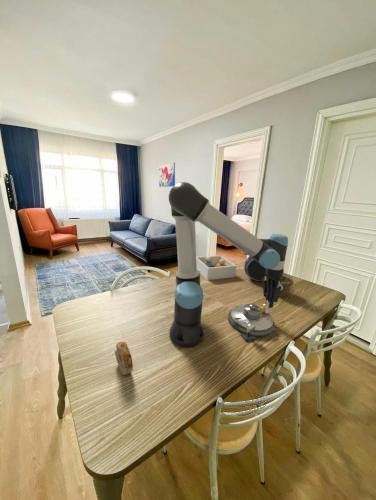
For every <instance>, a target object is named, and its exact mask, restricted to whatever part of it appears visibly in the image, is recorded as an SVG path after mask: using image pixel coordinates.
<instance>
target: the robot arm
mask: <svg viewBox="0 0 376 500" xmlns="http://www.w3.org/2000/svg"><path fill="white" fill-rule="evenodd" d="M168 202H169V205H170V209H171V213H170V214H171V217H172V218H173V219H174V220H175V221H174V222H175V233H176V234H175V235H176V237H175V238H176V250H177V251H176V252H177V268H178V270H176V271H175V290H174V308H173V309H174V312H173V313H174V314H173V321H172V323H171V325H170V328H169V334H168V335H169V339H170V341H171V342H172V343H173V344H174V345H176V346H178V347H179V348H180V347H181V348H194V347H197V346H199V345H200V344H202V343H203V340H204V337H205V336H204V335H205V331H204V328H203V324H202V312H203V311H202V310H203V301H204V290H203V288H202V286H201V273H200V272H199V270H197V265H196V257H197V242H196V241H197V240H196V237H197V236H196V223H197V222H198V223H200V224H201V225H203V226H204V227H206V228H208V229H209V230H210V231H211V232H213V233H215V234H216V235H218V236H219V237H221V238H222V239H224V240H225V241H227V243H229V244H231V245H232V246H234V247H235V248H236V249H239V250H240V251H241V252H242V254H243V255H245V256H248V257H249V256H250V257H251V258H253V259H254V260H256V261H257V262H259V263H260V265H261V266H263V267H264V268H266V277H262V280H263V281H262V291H263V294H262V295H263V297H264V298H265V303H266V310H265V312H266V313H269V314H271V313H272V311H273V307H274V303H277V302H279V298H281V297H280V294H281V292H282V290H283V289H284V288H285V287H284V286H282V285H281V277H282V276H283V275H284V274H283V268H285V261H286V256H287V251H288V247H289V246H288V244H289V238H288V236H287V235H285V234H279V233H278V234H277V233H275V234H271V235H270V237H269V238H258V237H256V235H254V234H253V233H251V232H250V231H248V230H247V229H246V228H245V227H243V226H241V225H240V224H238V223H237V222H236V221H234V220H233V219H231V218H230V217H229V216H227V215H226V214H224V213H223V212H221V211H220V210H219V209H217V208H216V207H214V206H213V205H212V204H210V200H209V199H208V198H207V197H205V195H203V194H202V193H201V192H200V191H199V190H198V189H197V188H196V187H195V186H194V185H193V184H192V183H189V182H186V181H182V182H177V183H175V184H174V185H173V186H172V188H171V189H170V190H169V193H168Z"/></svg>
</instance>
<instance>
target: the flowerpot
mask: <svg viewBox="0 0 376 500" xmlns="http://www.w3.org/2000/svg"><path fill="white" fill-rule="evenodd" d="M284 268H285V267H284ZM284 268H283V276H282V277H281V285H282V286H284V287H285V288H284V289H283V290H282V292H281V294H280V297H279V298H286V297H287V295H288V293H289V291H290V288H291V287H292V286H293V285H294V280H293V278H291V277H289V276H287V275H284V273H285V269H284Z"/></svg>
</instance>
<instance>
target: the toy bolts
mask: <svg viewBox="0 0 376 500" xmlns="http://www.w3.org/2000/svg"><path fill="white" fill-rule="evenodd" d="M205 257H206V256H205ZM204 264H205V265H206V266H207V267H209V268H211V266H212V263H211V258H210V257H206V258H205V262H204ZM223 266H227V265H226V264H225V260H223V259H221V260H219V263H218V264H217V265H216V266H214V267H223Z"/></svg>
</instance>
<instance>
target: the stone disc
mask: <svg viewBox="0 0 376 500" xmlns="http://www.w3.org/2000/svg"><path fill="white" fill-rule="evenodd" d="M115 346H116V347H115V348H116V350H115V351H114V355H115V359H116V363H117V365H118V367H119V370H120V372H121V374H122V375H123V376H125V375H128V374H130V373H132V371H133V369H134V368H133V359H132V358H133V357H132V355H131V352H130V348H129V346H128V343H127V341H119V342H117V343H116V345H115Z"/></svg>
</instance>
